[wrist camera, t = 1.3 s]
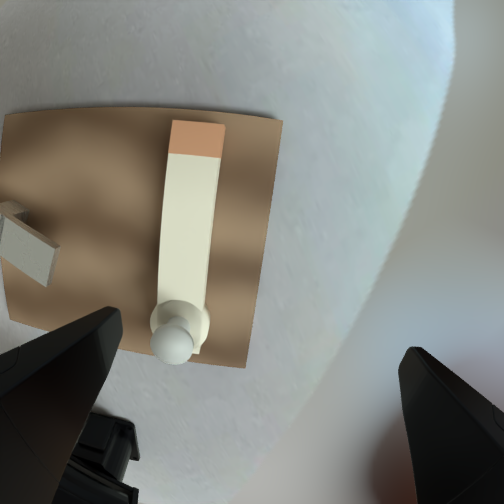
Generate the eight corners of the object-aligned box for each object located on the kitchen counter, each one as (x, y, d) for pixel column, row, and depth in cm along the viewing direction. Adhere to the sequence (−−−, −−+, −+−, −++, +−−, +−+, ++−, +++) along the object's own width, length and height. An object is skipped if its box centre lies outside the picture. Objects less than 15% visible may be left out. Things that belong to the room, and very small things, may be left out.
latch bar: (208, 343, 22) (202, 377, 18) (155, 335, 22) (140, 367, 18) (233, 128, 18) (230, 118, 14) (171, 122, 18) (152, 112, 14)
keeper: (66, 272, 21) (46, 287, 18) (6, 233, 20) (-18, 242, 17) (76, 238, 20) (55, 249, 17) (13, 199, 19) (-11, 205, 16)
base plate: (245, 361, 24) (245, 368, 23) (15, 314, 23) (9, 319, 22) (281, 122, 19) (283, 120, 18) (12, 115, 18) (5, 114, 17)
